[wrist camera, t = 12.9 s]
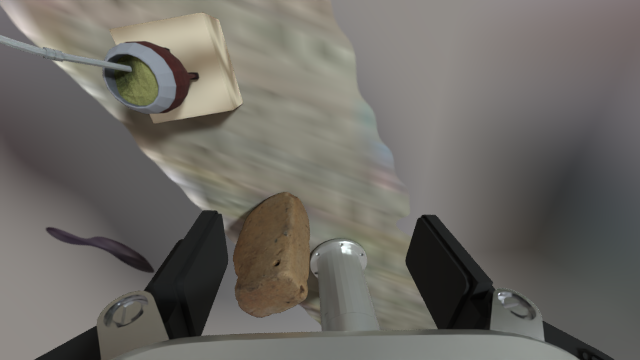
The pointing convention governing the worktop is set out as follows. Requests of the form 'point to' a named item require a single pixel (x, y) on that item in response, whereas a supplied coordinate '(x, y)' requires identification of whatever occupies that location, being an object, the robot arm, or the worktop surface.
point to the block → (273, 257)
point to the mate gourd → (132, 73)
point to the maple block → (192, 61)
